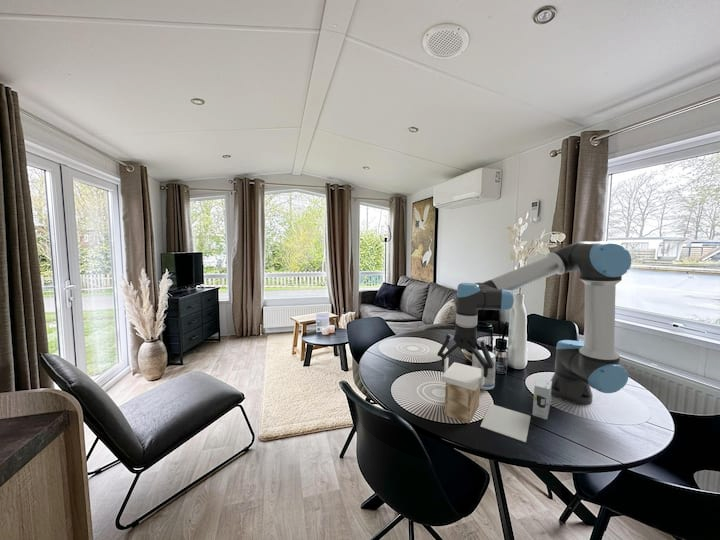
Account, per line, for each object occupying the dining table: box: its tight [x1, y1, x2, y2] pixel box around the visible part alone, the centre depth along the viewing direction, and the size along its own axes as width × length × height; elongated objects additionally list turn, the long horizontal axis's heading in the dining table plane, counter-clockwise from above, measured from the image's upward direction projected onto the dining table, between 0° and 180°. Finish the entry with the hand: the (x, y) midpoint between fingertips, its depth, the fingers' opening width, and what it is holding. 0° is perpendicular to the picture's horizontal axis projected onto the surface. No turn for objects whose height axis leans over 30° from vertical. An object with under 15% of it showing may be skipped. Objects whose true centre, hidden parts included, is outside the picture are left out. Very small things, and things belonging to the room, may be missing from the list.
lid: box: [440, 361, 481, 391], centre depth 110 cm, size 12×15×3 cm
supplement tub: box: [471, 349, 496, 391], centre depth 130 cm, size 10×10×15 cm
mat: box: [480, 403, 532, 444], centre depth 105 cm, size 14×17×1 cm
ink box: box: [531, 377, 552, 420], centre depth 110 cm, size 9×5×12 cm, turn 141°
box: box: [444, 382, 481, 424], centre depth 111 cm, size 9×14×13 cm, turn 145°
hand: (463, 379), depth 111 cm, fingers open, 13 cm apart
